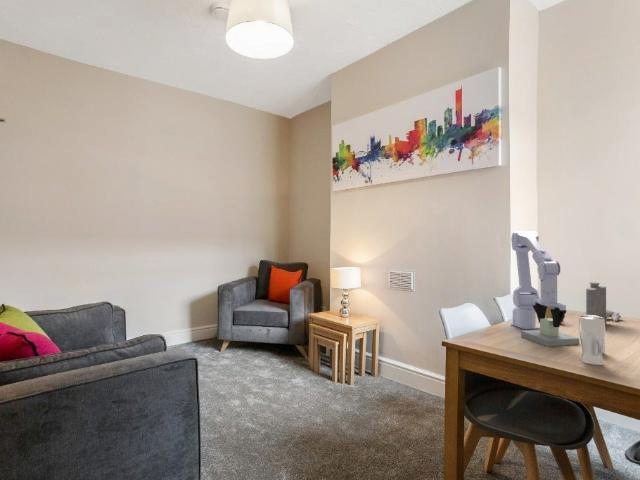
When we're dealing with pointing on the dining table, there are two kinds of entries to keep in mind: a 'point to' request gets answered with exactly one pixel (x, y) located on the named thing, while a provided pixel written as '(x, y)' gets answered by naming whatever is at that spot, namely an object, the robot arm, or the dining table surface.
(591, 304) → the hip flask
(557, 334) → the sage block
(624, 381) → the dining table surface
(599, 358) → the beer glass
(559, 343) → the slate block
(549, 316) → the wooden carving
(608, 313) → the seahorse
